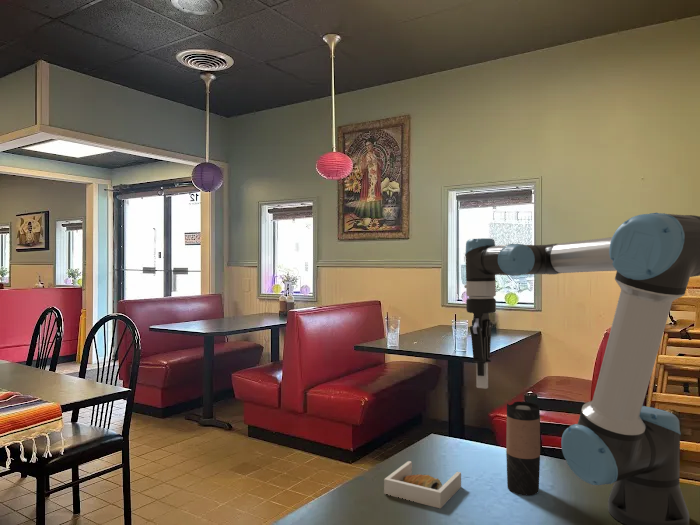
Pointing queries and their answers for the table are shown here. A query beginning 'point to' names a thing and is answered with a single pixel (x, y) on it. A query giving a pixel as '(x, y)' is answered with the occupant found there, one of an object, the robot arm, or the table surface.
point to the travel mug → (523, 448)
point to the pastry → (423, 481)
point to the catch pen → (420, 488)
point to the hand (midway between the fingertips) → (482, 387)
